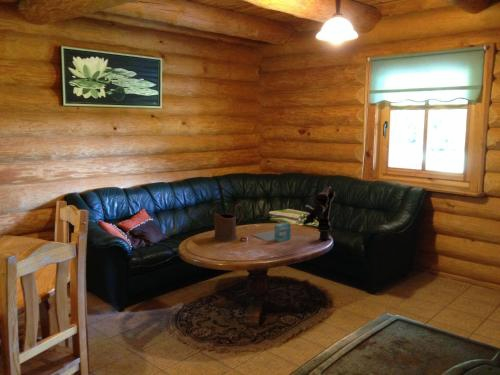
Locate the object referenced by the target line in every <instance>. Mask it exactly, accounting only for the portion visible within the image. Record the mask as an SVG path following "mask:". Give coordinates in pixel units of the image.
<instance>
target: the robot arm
mask: <svg viewBox="0 0 500 375" xmlns="http://www.w3.org/2000/svg"><path fill="white" fill-rule="evenodd" d="M335 197H336V191H335V189H333V188H332V186H324V187H323V189H322V191H321V192H319V193H317V194H316V200H315V204H316V206H315V207H312V206H311V205H308V204H306V205H305V207H304V209H303V210H304V211H306V212H308V214H306V216H305V220H304V221H303V222H302V225H308V224H311V225H313V224H314V222H315V220H316V219H317V218H318V217H319V216H321V214H322V218H319V222H318V224H317V230H318V232H319V237H318V240H320V241H323V242H327V241H331V238H330V233H332V226H331V222H330V220H329V218H330V212H331V206H332V202H333V201H334V199H335Z"/></svg>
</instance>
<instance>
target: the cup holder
mask: <svg viewBox="0 0 500 375" xmlns="http://www.w3.org/2000/svg"><path fill="white" fill-rule="evenodd" d="M238 206H241V216H240V218H239V219H238V220H237V219H236V218H237V217H236V216H237V207H238ZM213 214H214V216H213V218H214V235H213V238H212V239H213V241H215V242H217V241H218V242H217V243H232V242H236V241H237V240H238V239H239V238H238V236H237V226H238V225H239V224H240V222H241V220H242V219H243V217H244V205H243V204H241V203H237V204H236V205H235V206H234V214H230V213H216V212H214V213H213ZM236 220H237V222H236Z"/></svg>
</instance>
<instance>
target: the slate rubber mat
mask: <svg viewBox="0 0 500 375" xmlns="http://www.w3.org/2000/svg"><path fill="white" fill-rule="evenodd" d="M251 236H253V237H255V238H257V239H261V240H263V241H265V242H272V241H275V229H274V230H268V231H264V232H258V233H254V234H251ZM290 238H291V235H290Z"/></svg>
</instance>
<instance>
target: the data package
mask: <svg viewBox="0 0 500 375" xmlns="http://www.w3.org/2000/svg"><path fill="white" fill-rule="evenodd" d="M274 230H275V240H274V241H275V242H279V243H281V242H285V241H289V240H290V239H291V237H290V236H291V224H290V223H287V222H283V223H282V222H281V223H278V224H276V225H274Z"/></svg>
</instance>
